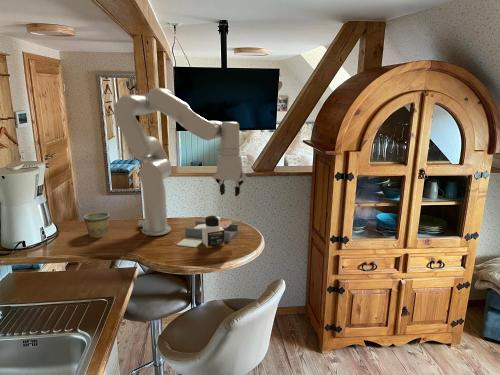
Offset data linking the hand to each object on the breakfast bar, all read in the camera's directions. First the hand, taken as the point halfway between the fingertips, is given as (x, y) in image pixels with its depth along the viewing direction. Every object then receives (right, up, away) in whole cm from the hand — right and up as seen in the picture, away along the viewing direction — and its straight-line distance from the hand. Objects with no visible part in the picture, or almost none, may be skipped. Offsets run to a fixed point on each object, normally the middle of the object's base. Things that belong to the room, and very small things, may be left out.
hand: (229, 194), depth 156 cm
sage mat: (-16, -20, -3) cm, 26 cm away
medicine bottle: (-7, -21, -4) cm, 22 cm away
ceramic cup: (-56, -18, +3) cm, 59 cm away
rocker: (-8, -14, +5) cm, 17 cm away
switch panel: (-8, -18, +6) cm, 21 cm away
